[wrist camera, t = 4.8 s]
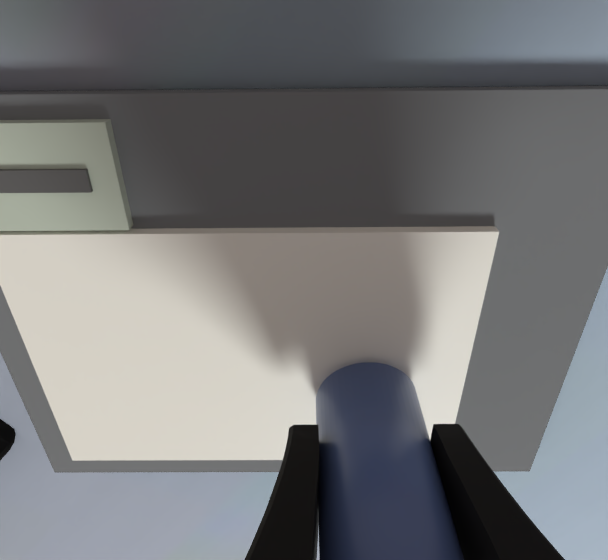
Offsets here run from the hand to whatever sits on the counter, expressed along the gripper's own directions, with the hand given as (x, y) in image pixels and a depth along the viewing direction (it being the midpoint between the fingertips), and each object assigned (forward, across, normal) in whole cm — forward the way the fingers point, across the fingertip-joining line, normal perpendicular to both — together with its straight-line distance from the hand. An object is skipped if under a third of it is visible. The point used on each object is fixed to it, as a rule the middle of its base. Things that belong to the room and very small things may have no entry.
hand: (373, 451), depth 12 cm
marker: (+2, 0, 0) cm, 2 cm away
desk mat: (+3, +2, -2) cm, 4 cm away
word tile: (+3, +8, -6) cm, 10 cm away
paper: (+3, +3, -1) cm, 4 cm away
